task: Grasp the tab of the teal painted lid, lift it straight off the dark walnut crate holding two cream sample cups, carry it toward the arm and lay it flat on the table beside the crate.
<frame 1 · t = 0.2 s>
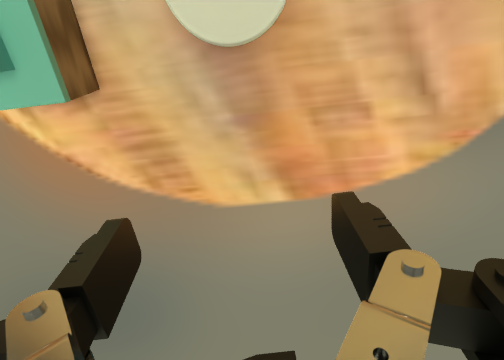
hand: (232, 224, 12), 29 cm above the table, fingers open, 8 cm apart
lid: (4, 42, 29), point 6 cm above the table, touching crate
crate: (39, 41, 35), on the table
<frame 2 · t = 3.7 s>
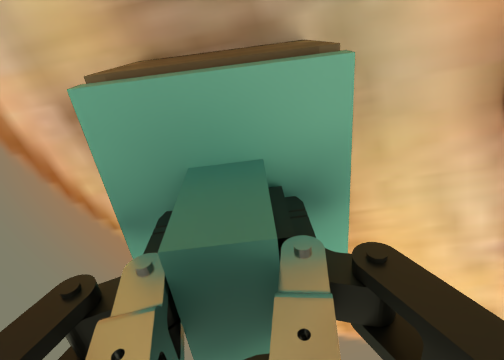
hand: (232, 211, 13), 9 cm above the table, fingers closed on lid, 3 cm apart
lid: (235, 191, 15), point 6 cm above the table, touching gripper
crate: (235, 145, 21), on the table
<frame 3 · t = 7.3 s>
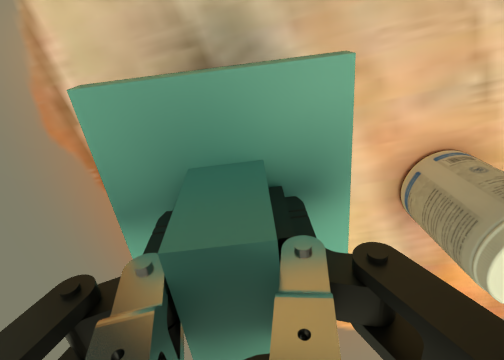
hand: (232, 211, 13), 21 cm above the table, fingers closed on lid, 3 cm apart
supplement tub: (436, 182, 37), on the table
lid: (235, 191, 15), point 19 cm above the table, touching gripper
when the fingers open (5 cm above the table, at t = 10.8 s): lid drops 3 cm, on the table.
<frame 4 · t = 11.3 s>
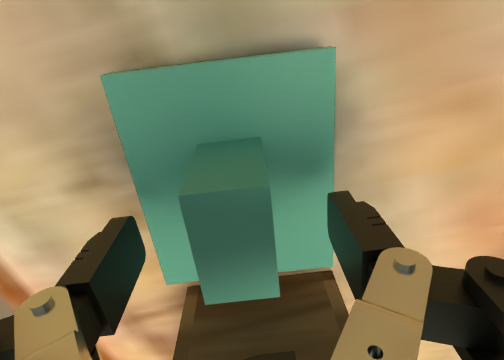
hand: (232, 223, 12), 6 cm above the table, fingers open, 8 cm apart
lid: (236, 169, 17), on the table
crate: (267, 336, 23), on the table
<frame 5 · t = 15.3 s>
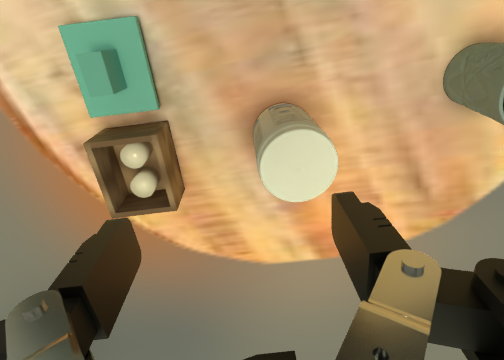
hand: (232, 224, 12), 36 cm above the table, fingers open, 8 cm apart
supplement tub: (282, 131, 48), on the table
cup a: (140, 147, 47), point 1 cm above the table, touching crate
lid: (117, 68, 43), on the table
crate: (146, 160, 49), on the table
drinking glass: (471, 75, 45), on the table
cup b: (149, 176, 49), point 1 cm above the table, touching crate
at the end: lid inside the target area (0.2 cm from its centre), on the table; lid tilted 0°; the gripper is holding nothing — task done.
